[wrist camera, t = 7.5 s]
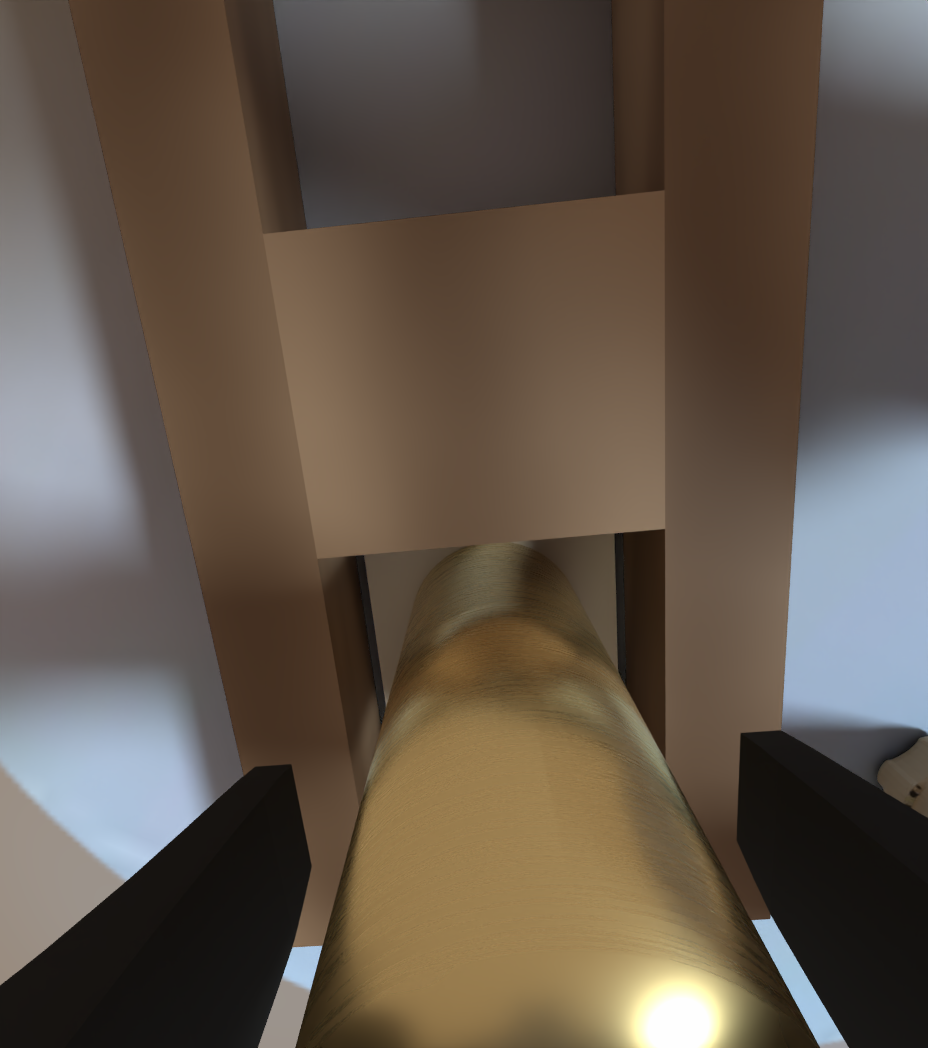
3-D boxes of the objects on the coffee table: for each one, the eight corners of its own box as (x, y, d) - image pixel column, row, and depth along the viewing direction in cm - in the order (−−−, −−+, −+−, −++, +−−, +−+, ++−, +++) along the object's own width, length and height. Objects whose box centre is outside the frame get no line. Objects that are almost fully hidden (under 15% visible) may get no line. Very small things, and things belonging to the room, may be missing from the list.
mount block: (742, -381, 9) (866, -735, 6) (713, 820, 15) (770, 918, 13) (96, -287, 10) (-63, -578, 7) (317, 846, 16) (282, 947, 13)
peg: (574, 533, 13) (876, 929, 3) (582, 688, 14) (832, 1330, 4) (401, 549, 13) (217, 975, 4) (423, 702, 14) (324, 1351, 5)
